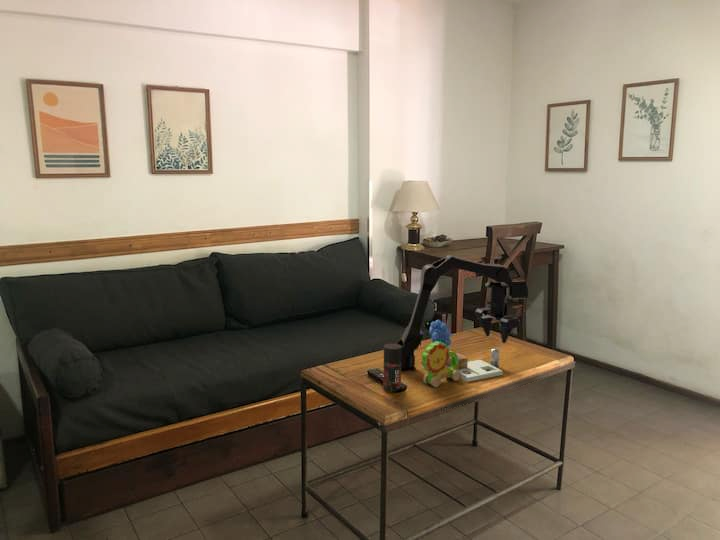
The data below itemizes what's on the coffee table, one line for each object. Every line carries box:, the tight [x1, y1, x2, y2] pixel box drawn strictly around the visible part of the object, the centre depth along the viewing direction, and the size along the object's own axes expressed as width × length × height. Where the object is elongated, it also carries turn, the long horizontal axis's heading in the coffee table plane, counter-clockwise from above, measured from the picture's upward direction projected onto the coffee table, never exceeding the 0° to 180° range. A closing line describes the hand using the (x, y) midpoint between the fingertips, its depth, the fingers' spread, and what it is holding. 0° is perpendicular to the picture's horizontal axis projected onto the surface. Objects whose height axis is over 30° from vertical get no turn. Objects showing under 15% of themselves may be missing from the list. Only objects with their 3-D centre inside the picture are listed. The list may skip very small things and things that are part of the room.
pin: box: [489, 347, 500, 369], centre depth 218 cm, size 3×3×7 cm
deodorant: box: [382, 343, 402, 392], centre depth 197 cm, size 6×6×15 cm
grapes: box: [428, 319, 452, 348], centre depth 238 cm, size 12×7×12 cm, turn 40°
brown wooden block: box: [446, 352, 469, 369], centre depth 214 cm, size 6×6×4 cm
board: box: [447, 359, 504, 383], centre depth 213 cm, size 16×13×2 cm
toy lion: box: [421, 341, 461, 388], centre depth 202 cm, size 16×5×15 cm, turn 126°
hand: (495, 339), depth 217 cm, fingers open, 9 cm apart
